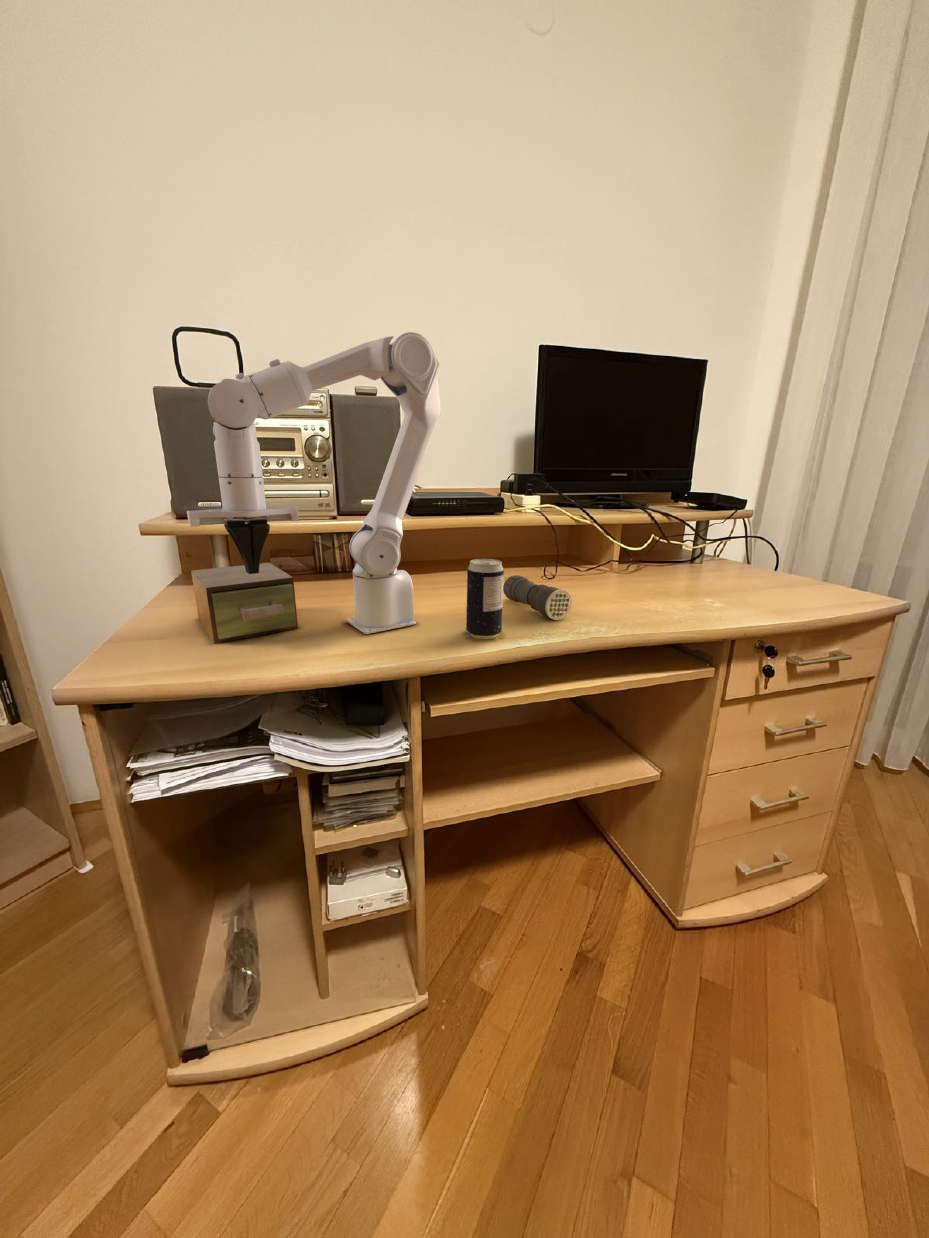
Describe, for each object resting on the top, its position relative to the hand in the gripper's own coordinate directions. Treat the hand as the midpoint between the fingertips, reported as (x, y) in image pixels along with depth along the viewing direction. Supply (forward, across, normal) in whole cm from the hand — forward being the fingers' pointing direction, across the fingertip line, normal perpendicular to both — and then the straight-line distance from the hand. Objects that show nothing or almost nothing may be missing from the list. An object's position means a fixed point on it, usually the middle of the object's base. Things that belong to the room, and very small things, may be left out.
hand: (252, 572), depth 73 cm
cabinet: (+10, 0, -8) cm, 13 cm away
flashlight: (+11, -47, +12) cm, 50 cm away
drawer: (+9, 0, -4) cm, 10 cm away
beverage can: (+11, -30, +18) cm, 37 cm away
